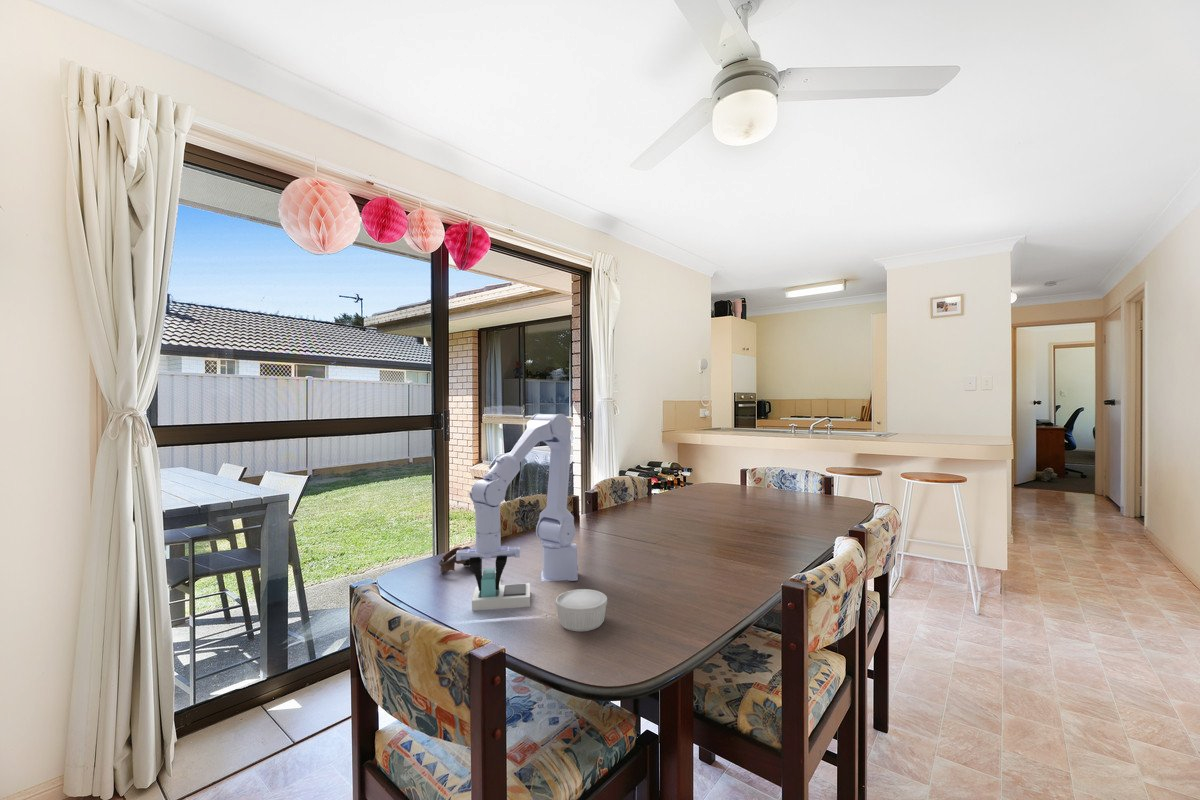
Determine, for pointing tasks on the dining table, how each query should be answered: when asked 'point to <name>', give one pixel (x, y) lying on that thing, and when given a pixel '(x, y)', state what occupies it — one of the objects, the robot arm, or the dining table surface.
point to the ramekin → (581, 609)
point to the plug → (488, 583)
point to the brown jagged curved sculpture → (452, 560)
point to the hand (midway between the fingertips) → (489, 588)
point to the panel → (503, 597)
